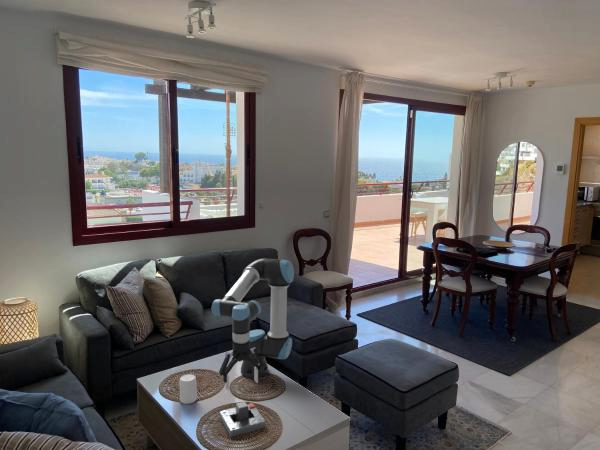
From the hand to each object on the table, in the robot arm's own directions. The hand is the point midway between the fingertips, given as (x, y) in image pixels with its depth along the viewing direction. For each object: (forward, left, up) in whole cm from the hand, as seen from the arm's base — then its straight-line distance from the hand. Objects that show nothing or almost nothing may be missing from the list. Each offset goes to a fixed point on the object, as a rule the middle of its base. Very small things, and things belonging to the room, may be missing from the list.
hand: (241, 385), depth 199 cm
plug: (0, 0, -18) cm, 18 cm away
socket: (0, 0, -18) cm, 18 cm away
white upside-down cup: (+18, -29, -18) cm, 38 cm away
